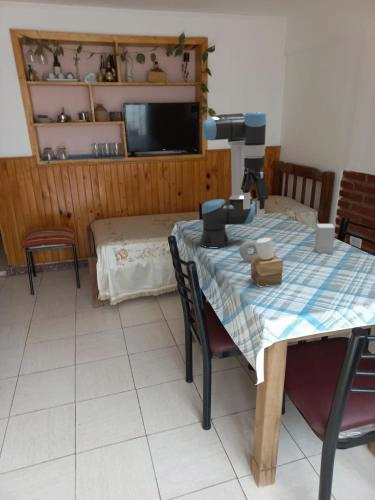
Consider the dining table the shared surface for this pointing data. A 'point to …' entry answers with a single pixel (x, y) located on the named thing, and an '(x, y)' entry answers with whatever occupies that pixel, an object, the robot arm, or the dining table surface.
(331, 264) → the dining table surface
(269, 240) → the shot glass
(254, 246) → the donut
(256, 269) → the oak block
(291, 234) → the dining table surface
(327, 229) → the supplement box
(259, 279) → the walnut block
